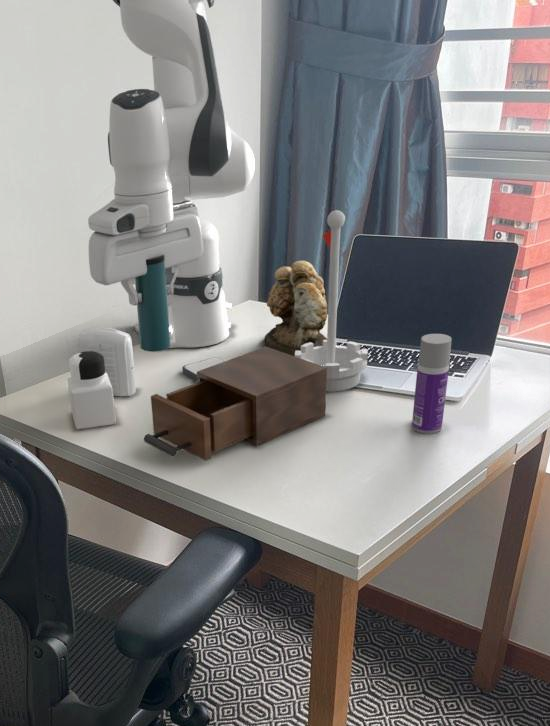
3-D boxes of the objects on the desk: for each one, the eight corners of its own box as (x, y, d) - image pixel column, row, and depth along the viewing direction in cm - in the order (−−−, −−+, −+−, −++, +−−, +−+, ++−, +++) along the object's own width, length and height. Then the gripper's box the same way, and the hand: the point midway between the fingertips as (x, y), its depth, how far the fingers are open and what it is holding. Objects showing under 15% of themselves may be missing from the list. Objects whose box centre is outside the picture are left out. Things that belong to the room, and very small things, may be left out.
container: (440, 434, 133) (451, 344, 125) (410, 432, 135) (419, 343, 126) (442, 422, 137) (453, 333, 128) (413, 420, 138) (421, 332, 130)
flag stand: (378, 386, 151) (391, 212, 134) (311, 398, 148) (316, 223, 132) (346, 361, 161) (355, 198, 145) (283, 373, 159) (285, 208, 143)
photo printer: (139, 389, 158) (133, 326, 152) (131, 398, 155) (124, 334, 148) (90, 385, 162) (82, 323, 155) (81, 394, 158) (72, 331, 152)
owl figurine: (247, 340, 175) (246, 258, 166) (294, 328, 179) (295, 247, 170) (297, 366, 162) (299, 277, 152) (346, 352, 166) (351, 265, 156)
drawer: (183, 470, 128) (181, 430, 124) (132, 442, 138) (128, 403, 134) (274, 431, 137) (274, 392, 133) (220, 407, 146) (218, 370, 142)
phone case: (179, 374, 164) (222, 399, 151) (179, 366, 163) (222, 390, 150) (218, 363, 167) (263, 387, 154) (217, 355, 166) (263, 378, 154)
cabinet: (256, 446, 135) (256, 396, 130) (198, 419, 145) (196, 371, 140) (325, 416, 142) (327, 367, 137) (265, 392, 152) (265, 346, 148)
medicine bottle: (111, 408, 152) (103, 345, 145) (116, 424, 146) (109, 359, 140) (72, 414, 151) (63, 350, 145) (76, 430, 145) (67, 365, 139)
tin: (152, 354, 137) (144, 261, 129) (134, 346, 141) (126, 256, 133) (176, 345, 139) (170, 254, 131) (158, 338, 143) (151, 249, 135)
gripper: (184, 195, 135) (189, 280, 143) (78, 220, 126) (89, 310, 133) (209, 199, 131) (212, 287, 138) (101, 226, 121) (111, 319, 129)
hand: (151, 299), depth 136 cm, fingers closed on tin, 5 cm apart
